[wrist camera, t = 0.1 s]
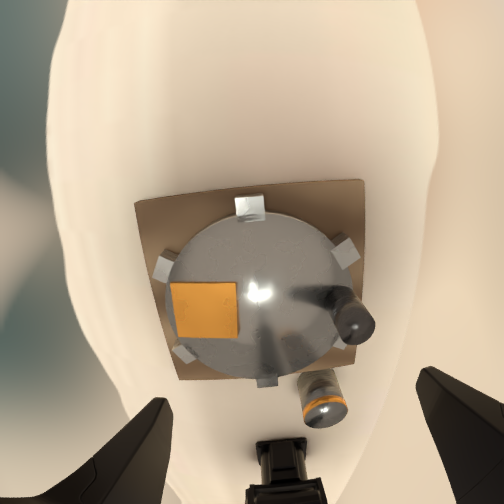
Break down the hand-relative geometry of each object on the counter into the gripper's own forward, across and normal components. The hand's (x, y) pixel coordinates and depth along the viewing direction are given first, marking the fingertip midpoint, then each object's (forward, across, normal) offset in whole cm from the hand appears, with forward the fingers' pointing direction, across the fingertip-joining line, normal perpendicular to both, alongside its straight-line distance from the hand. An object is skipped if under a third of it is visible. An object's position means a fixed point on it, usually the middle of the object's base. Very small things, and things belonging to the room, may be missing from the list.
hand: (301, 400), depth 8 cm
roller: (+15, -4, +14) cm, 21 cm away
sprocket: (+13, +1, +3) cm, 14 cm away
